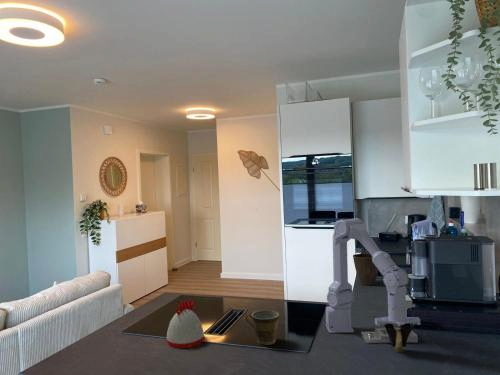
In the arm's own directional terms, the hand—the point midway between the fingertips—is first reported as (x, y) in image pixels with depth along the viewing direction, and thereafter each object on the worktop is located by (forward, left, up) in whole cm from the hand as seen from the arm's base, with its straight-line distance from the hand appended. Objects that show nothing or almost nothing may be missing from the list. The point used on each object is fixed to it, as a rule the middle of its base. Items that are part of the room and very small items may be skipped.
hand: (398, 345), depth 129 cm
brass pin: (0, 0, -2) cm, 2 cm away
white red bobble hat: (-75, +12, -2) cm, 76 cm away
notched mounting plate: (0, +10, -2) cm, 10 cm away
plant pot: (+13, +86, -2) cm, 87 cm away
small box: (+11, +25, -2) cm, 27 cm away
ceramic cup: (-46, +10, -2) cm, 47 cm away
